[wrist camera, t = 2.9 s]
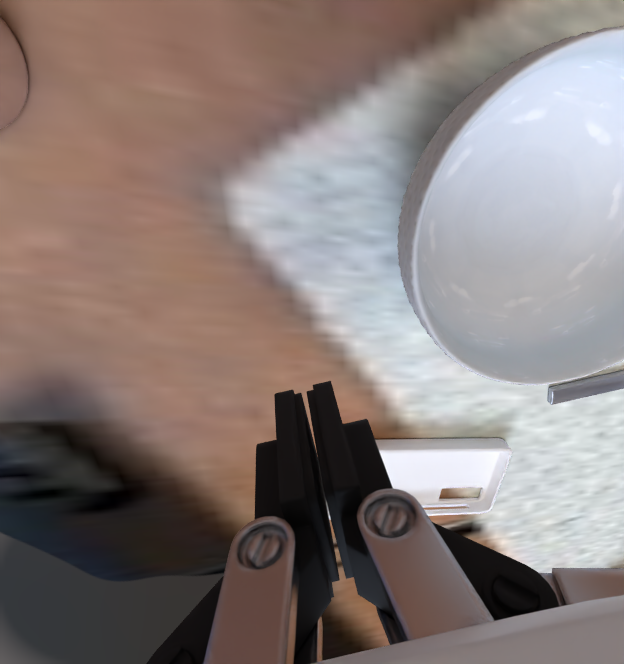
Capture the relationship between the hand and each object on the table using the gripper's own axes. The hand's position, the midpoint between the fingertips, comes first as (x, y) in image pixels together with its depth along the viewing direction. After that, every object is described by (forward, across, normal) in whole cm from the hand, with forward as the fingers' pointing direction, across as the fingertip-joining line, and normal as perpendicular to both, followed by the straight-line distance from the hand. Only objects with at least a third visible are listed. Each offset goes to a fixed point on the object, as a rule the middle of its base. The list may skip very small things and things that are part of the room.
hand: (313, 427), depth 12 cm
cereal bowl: (+15, -14, -1) cm, 21 cm away
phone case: (+16, -6, +19) cm, 26 cm away
